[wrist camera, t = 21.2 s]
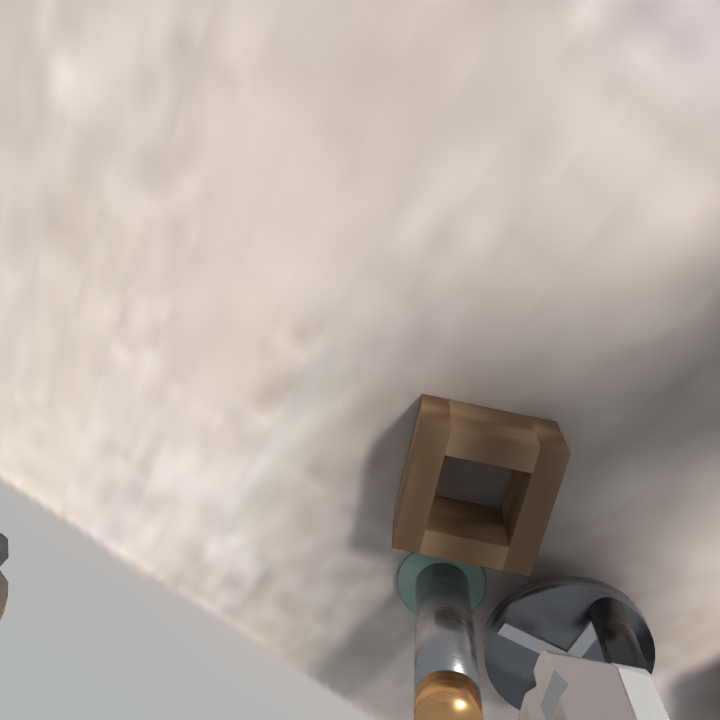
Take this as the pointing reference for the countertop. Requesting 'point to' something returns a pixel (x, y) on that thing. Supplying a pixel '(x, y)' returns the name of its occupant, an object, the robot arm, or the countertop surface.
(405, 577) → the coaster
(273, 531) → the countertop surface
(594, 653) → the handwheel
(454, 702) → the orange topped grey cylinder
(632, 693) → the robot arm
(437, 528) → the block
